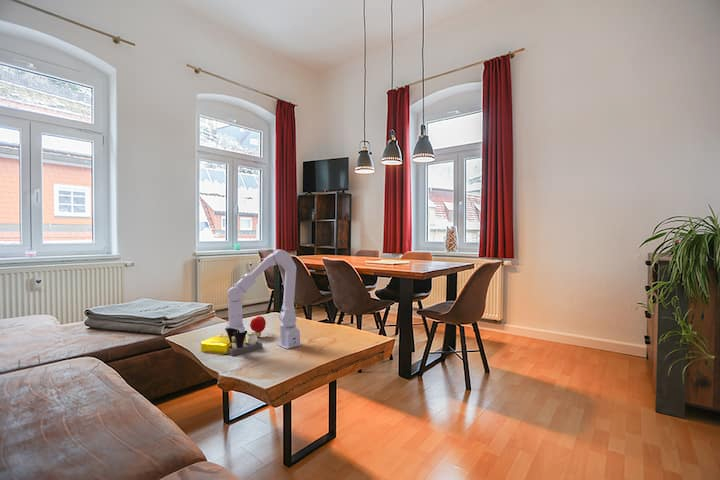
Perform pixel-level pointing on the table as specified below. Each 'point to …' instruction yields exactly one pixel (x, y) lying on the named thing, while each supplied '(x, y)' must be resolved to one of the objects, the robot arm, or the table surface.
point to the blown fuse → (234, 343)
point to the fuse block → (245, 348)
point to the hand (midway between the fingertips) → (236, 345)
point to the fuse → (251, 338)
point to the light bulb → (258, 325)
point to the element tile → (217, 344)
